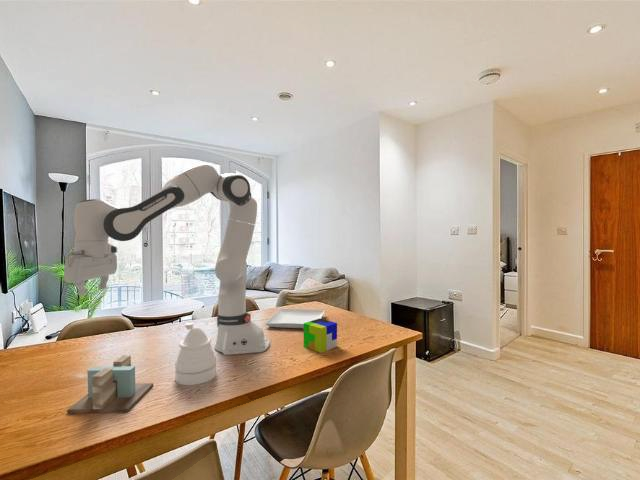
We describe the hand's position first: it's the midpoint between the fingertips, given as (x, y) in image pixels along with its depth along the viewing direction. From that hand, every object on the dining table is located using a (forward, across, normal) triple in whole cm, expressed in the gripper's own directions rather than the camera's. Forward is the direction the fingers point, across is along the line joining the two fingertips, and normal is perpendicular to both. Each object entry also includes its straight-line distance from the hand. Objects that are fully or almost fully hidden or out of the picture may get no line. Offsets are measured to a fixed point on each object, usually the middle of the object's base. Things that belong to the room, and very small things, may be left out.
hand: (93, 292), depth 103 cm
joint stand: (+29, -12, -13) cm, 34 cm away
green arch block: (+28, -12, -13) cm, 33 cm away
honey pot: (+29, +2, -32) cm, 43 cm away
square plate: (+30, +62, -64) cm, 94 cm away
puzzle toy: (+29, +27, -75) cm, 85 cm away
